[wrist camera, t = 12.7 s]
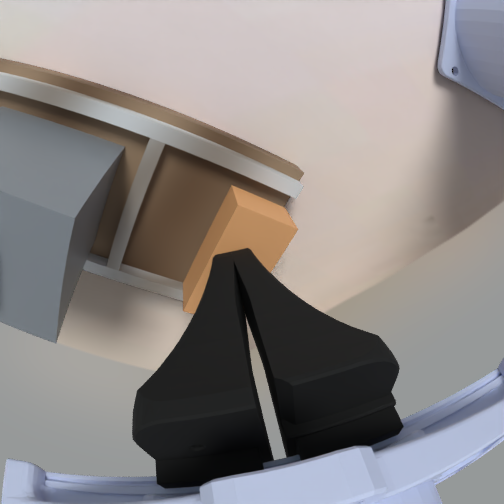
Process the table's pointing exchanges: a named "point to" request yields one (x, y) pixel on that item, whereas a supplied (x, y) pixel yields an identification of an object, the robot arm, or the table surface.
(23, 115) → the block
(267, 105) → the table surface
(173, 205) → the rail board
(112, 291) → the table surface
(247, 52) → the table surface
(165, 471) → the robot arm
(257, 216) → the tan wooden brick
